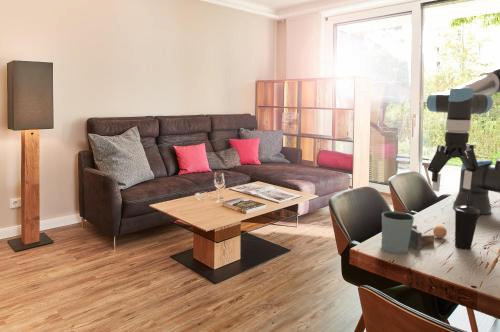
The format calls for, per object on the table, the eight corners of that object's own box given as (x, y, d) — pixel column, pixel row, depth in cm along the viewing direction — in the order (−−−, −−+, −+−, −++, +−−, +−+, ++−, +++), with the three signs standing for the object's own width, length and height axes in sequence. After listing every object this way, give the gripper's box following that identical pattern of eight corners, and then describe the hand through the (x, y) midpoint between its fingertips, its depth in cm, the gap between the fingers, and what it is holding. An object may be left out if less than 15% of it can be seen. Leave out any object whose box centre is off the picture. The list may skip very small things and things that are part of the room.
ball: (440, 235, 149) (441, 223, 148) (448, 239, 145) (450, 227, 144) (430, 236, 148) (431, 224, 147) (438, 240, 144) (439, 228, 143)
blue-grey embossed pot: (373, 247, 137) (375, 214, 135) (391, 241, 143) (393, 209, 140) (399, 257, 129) (401, 222, 127) (417, 250, 134) (420, 216, 132)
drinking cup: (474, 253, 132) (481, 195, 129) (449, 248, 136) (455, 192, 133) (476, 245, 139) (482, 190, 135) (451, 241, 143) (457, 187, 139)
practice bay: (414, 233, 150) (415, 218, 149) (439, 248, 137) (441, 231, 136) (393, 235, 148) (395, 220, 147) (417, 250, 135) (418, 233, 134)
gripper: (477, 129, 148) (471, 185, 152) (420, 131, 142) (415, 189, 146) (494, 131, 141) (487, 189, 145) (435, 133, 135) (429, 194, 139)
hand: (451, 189), depth 146 cm, fingers open, 13 cm apart
